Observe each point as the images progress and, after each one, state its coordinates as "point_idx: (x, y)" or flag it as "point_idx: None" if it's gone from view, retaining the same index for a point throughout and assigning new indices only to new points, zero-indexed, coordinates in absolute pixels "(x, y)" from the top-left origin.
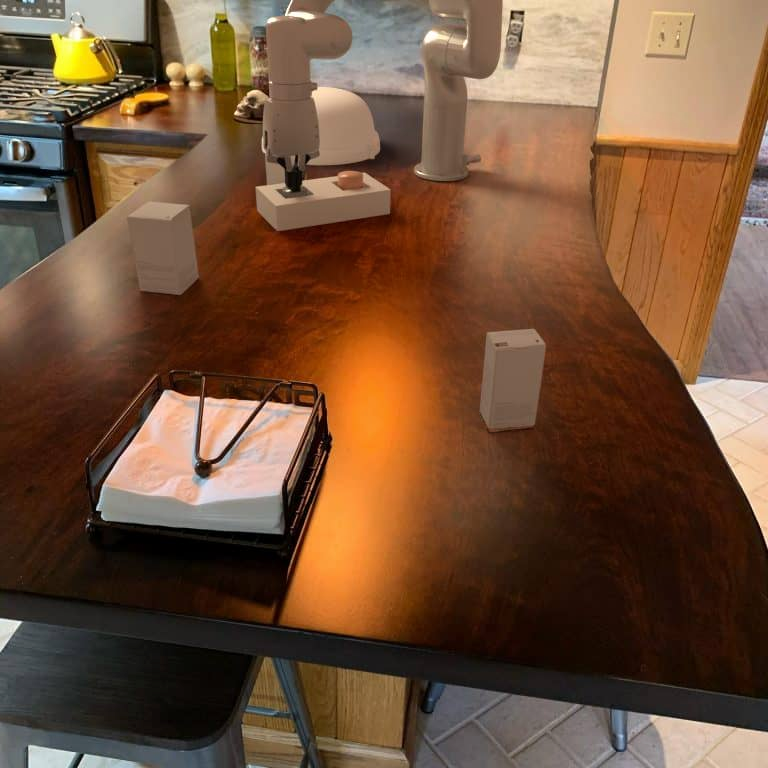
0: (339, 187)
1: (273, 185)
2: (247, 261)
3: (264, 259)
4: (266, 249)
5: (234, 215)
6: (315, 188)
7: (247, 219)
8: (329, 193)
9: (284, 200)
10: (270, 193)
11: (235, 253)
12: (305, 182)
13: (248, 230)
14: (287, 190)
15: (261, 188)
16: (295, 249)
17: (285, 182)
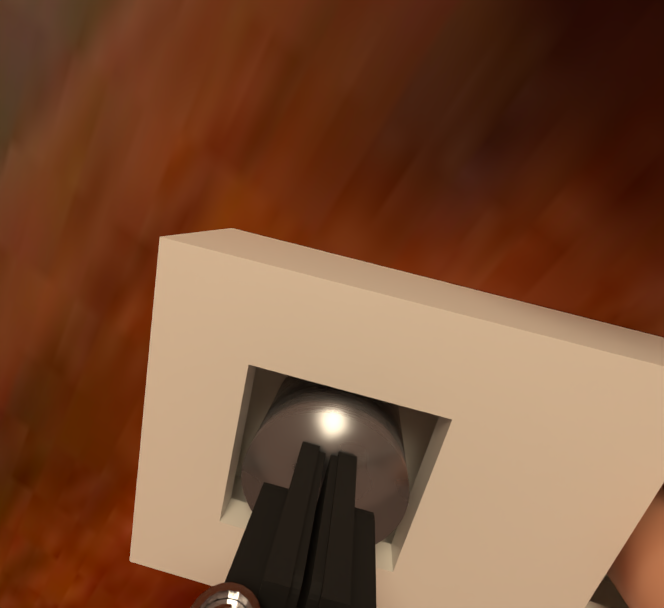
0: (626, 555)
1: (281, 292)
2: (24, 569)
3: (70, 587)
4: (101, 545)
5: (119, 211)
6: (474, 505)
7: (150, 291)
8: (476, 605)
9: (201, 535)
10: (187, 408)
11: (9, 512)
12: (513, 378)
13: (109, 392)
14: (275, 474)
15: (180, 295)
16: (176, 595)
17: (259, 496)
